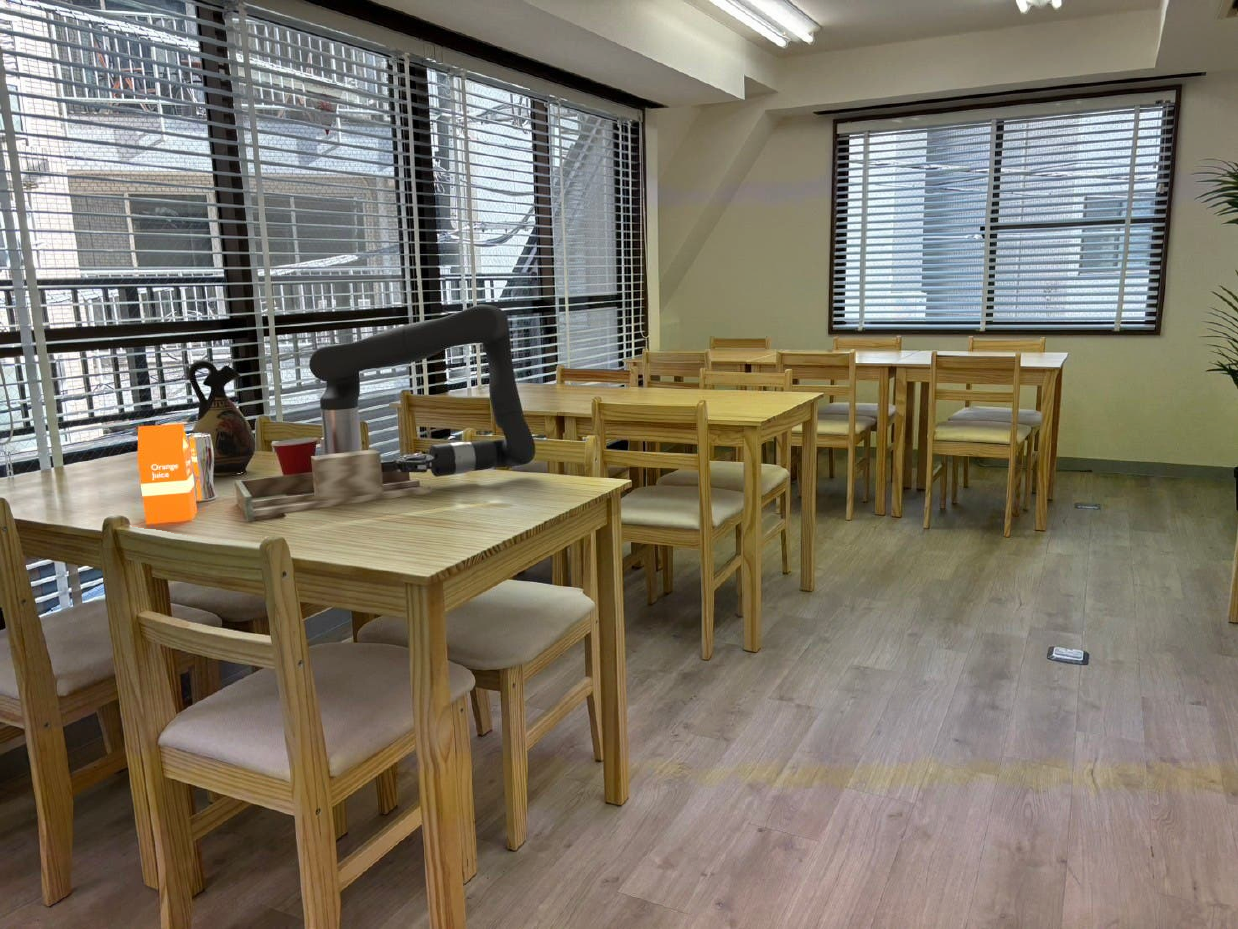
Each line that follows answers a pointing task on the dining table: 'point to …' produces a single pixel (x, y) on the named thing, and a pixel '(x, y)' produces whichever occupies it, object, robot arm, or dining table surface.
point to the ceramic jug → (222, 421)
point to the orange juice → (166, 474)
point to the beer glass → (202, 465)
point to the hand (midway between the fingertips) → (378, 467)
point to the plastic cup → (295, 455)
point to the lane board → (303, 483)
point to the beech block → (347, 475)
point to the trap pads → (313, 491)
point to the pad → (269, 497)
